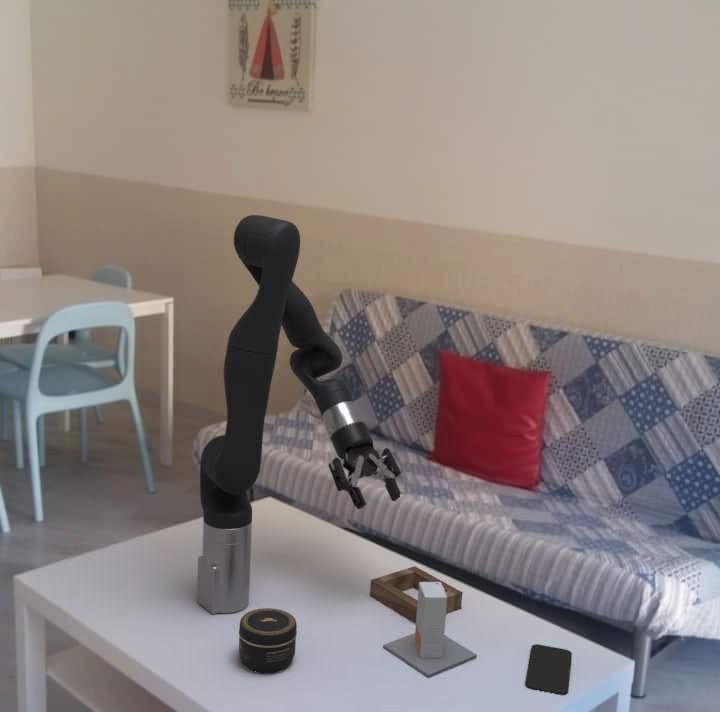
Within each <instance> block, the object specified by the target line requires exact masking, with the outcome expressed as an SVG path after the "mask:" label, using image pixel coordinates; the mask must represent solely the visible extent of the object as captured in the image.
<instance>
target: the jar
mask: <svg viewBox="0 0 720 712" xmlns="http://www.w3.org/2000/svg"><path fill="white" fill-rule="evenodd" d="M296 620H297V619H296V618H295V617H294V616H293V615H292V614H291V613H289V612H288V611H285V610H282V609H280V608H279V609H278V608H272V607H271V608H268V607H267V608H266V607H265V608H258V609H253V610H250V611H248V612H246V613H245V614H244V615H243V616H242V617H241V619H240V621H239V627H238V628H239V629H238V635H239V636H238V637H239V638H238V639H239V640H238V654H239V659H240V662H241V664H242V665H243V666H244V667H245V666H246V667H247V668H248V669H247V668H246V667H245V668H246V669H247V670H249V669H250V670H249V671H251V670H252V671H251V672H254V671H256V672H255V673H257V672H259V673H258V674H264V673H270V674H276V672H277V673H279V672H283V671H284V670H286V669H287V668H289V667H290V665H291V664H292V663H293V660H294V657H295V654H296V642H297V641H296V640H297V633H298V630H297V621H296Z"/></svg>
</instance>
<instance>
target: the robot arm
mask: <svg viewBox="0 0 720 712" xmlns="http://www.w3.org/2000/svg"><path fill="white" fill-rule="evenodd" d="M233 245H234V249H235V253H236V255H237V256H238V257H239V260H240V261H241V262H242V264H243V265H244V267H245V268H246V269H247V271H248V272H249V273H250V275H251V276H252V278H253V279H254V281H255V282H256V283H257V286H258V290H257V293H256V295H255V297H254V299H253V301H252V303H251V304H250V305H249V307H248V308H247V309H246V311H245V312H244V313H243V314H242V315H241V316H240V318H239V319H238V321H237V322H235V324H234V326H233V328H232V329H231V330H230V333H229V337H228V339H227V345H226V351H225V356H224V357H225V358H224V363H223V383H224V392H225V401H226V410H227V411H226V412H227V413H226V418H227V419H226V426H225V427H226V428H225V431H224V432H225V433H224V434H222V435H218V436H215V437H214V438H212V439H211V440H210V441H208V442H207V444H206V445H205V446H204V448H203V451H202V453H201V457H200V462H199V463H200V464H199V485H200V486H199V488H200V489H199V490H200V491H199V494H200V498H199V499H200V505H201V507H202V512H203V513H202V514H203V521H202V522H203V524H202V554H201V556H199V557H198V559H197V584H196V586H197V588H196V589H197V590H196V591H197V592H196V602H197V603H198V604H199V605H200V606H202V608H204V609H205V610H206V611H208V612H209V613H210V614H212V615H215V614H231V613H237V612H240V611H243V610H244V609H246V608H247V607H248V606H249V603H250V582H251V581H250V580H251V579H250V578H251V558H252V557H251V554H252V532H253V531H252V530H253V529H252V526H253V506H252V503H251V501H250V499H249V496H248V493H247V492H248V491H249V490H250V489H251V488H252V487H253V486H254V484H256V481H257V479H258V477H259V474H260V471H261V466H262V465H261V464H262V457H263V456H262V455H263V454H262V452H263V439H264V438H263V437H264V425H265V417H266V414H267V408H268V403H269V398H270V393H271V392H270V391H271V387H272V386H271V385H272V380H273V375H274V371H275V366H276V360H277V354H278V347H279V340H280V339H279V338H280V334H281V329H282V330H283V331H284V333H285V336H286V338H287V341H288V342H289V344H290V345H291V346H292V347H293V348H296V349H295V350H294V351H293V352H291V354H290V356H289V366H290V369H291V371H292V372H293V374H294V375H295V376H296V377H297V379H298V380H299V381H300V382H301V383H302V384H303V386H304V387H305V388H306V389H307V390H308V392H309V393H310V394H311V396H312V398H313V400H314V402H315V404H316V406H317V408H318V410H319V412H320V415H321V418H322V420H323V423H324V424H323V425H324V428H325V430H326V432H327V434H328V437H329V438H330V441H331V444H332V446H333V448H334V451H335V453H336V455H337V457H334V458H333V459H332V460H331V461H330V462H329V463H328V468H329V471H330V473H331V476H332V479H333V481H334V485H335V487H336V490H337V491H339V492H342V491H346V492H347V493H348V494H349V496H350V499H351V501H352V504H353V505H354V507H356V508H357V510H361V509H363V508H364V507H365V506H367V502H366V499H365V497H364V496H363V492H362V490H361V489H360V486H358V482H359V479H362V478H364V477H368V478H369V477H373V478H375V479H378V480H380V481H381V482H383V484H385V485H384V487H385V489H386V491H387V493H388V495H389V498H390V501H391V502H396V501H397V500H399V499H400V498H401V493H402V492H401V491H400V488H399V486H398V484H397V481H396V478H397V477H398V476H400V475H401V473H402V471H401V469H400V468H399V465H398V464H397V462H396V460H395V458H394V456H393V453H392V452H391V450H390V449H389V448H388V447H386V448H384V449H383V450H381V451H377V450H376V449H375V447H374V441H373V438H372V436H371V433H370V431H369V429H368V427H367V425H366V423H365V420H364V418H363V415H362V414H361V412H360V410H359V408H358V407H357V405H356V403H355V401H354V399H353V396H352V395H351V393H350V390H349V387H348V386H347V384H346V383H345V381H344V380H342V379H340V378H335V379H334V378H333V379H328V380H319V378H321V377H323V376H325V375H327V374H328V375H329V373H332V372H334V371H336V370H338V369H339V368H340V367H341V366H342V362H343V354H342V350H341V349H340V347H339V345H338V344H337V343H336V342H335V340H333V339H332V338H331V337H330V336H329V335H328V333H326V332H325V330H324V329H323V327H322V326H321V323H320V321H319V318H318V316H317V314H316V312H315V309H314V307H313V305H312V303H311V302H310V300H309V298H308V297H307V296H306V294H305V293H304V292H303V291H302V290H301V288H299V286H298V285H297V284H296V283H295V281H293V278H294V274H295V272H296V267H297V264H298V261H299V260H298V259H299V257H300V256H299V255H300V249H301V235H300V231H299V229H298V227H297V226H296V225H295V224H294V223H293V222H291V221H289V220H284V219H279V218H275V217H270V216H265V215H261V214H257V215H256V214H251V215H247V216H245V217H243V218H242V219H241V220H240V221H239V222H238V224H237V225H236V227H235V230H234V233H233ZM344 469H345V470H346V471H347V475H346V473H345V471H344Z"/></svg>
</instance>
